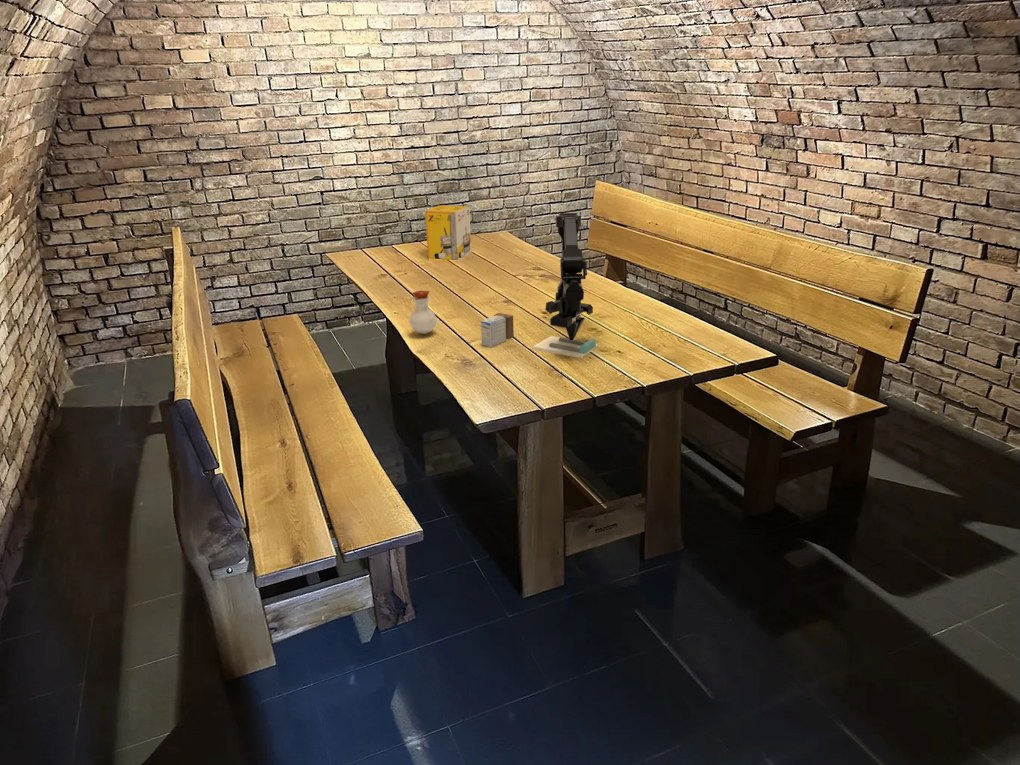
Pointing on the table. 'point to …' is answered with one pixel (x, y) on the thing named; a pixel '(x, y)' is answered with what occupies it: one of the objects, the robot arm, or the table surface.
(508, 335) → the panel
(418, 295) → the potion bottle
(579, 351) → the rail board
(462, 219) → the packaging box
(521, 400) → the table surface
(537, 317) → the table surface
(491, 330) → the medicine box
